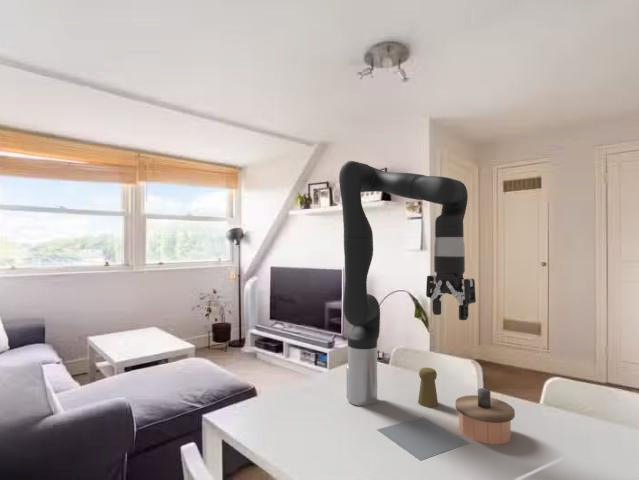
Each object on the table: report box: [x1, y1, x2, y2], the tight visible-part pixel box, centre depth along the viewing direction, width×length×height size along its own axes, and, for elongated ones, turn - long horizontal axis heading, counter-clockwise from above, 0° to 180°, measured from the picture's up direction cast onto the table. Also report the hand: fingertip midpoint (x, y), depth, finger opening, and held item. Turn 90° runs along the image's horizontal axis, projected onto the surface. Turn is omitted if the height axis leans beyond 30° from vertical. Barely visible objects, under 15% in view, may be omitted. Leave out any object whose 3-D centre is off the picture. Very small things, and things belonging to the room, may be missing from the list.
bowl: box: [458, 411, 512, 445], centre depth 96 cm, size 12×12×6 cm
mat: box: [376, 416, 470, 462], centre depth 94 cm, size 16×16×1 cm
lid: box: [455, 387, 516, 423], centre depth 96 cm, size 14×14×5 cm
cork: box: [417, 367, 439, 408], centre depth 114 cm, size 6×6×11 cm
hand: (449, 317), depth 96 cm, fingers open, 8 cm apart
